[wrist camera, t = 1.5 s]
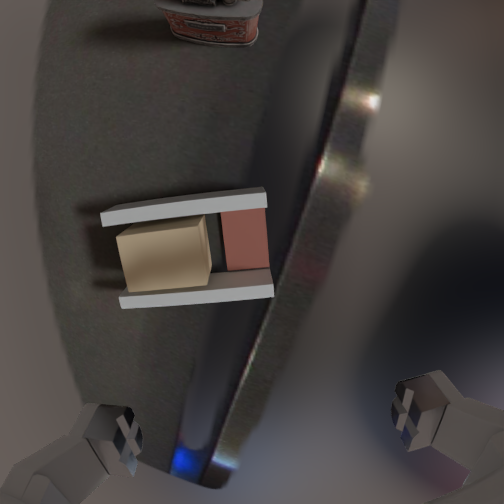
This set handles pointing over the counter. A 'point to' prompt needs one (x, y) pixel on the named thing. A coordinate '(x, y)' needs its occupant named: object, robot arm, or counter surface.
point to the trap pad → (245, 239)
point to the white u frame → (219, 284)
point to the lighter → (213, 21)
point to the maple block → (165, 254)
